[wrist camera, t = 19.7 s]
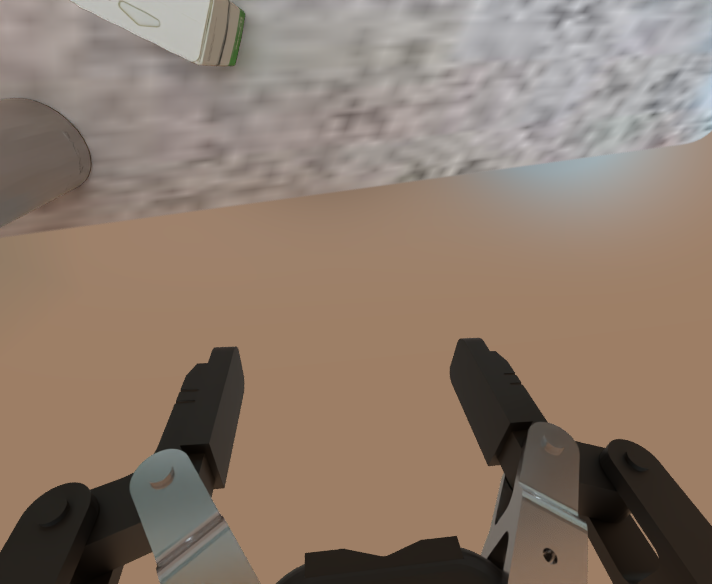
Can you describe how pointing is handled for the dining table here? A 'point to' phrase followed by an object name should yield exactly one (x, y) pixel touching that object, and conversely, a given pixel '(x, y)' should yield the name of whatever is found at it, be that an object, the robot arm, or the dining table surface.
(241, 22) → the ink box
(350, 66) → the dining table surface
